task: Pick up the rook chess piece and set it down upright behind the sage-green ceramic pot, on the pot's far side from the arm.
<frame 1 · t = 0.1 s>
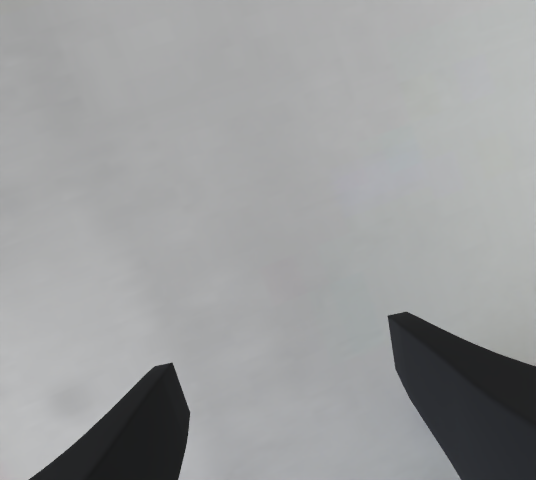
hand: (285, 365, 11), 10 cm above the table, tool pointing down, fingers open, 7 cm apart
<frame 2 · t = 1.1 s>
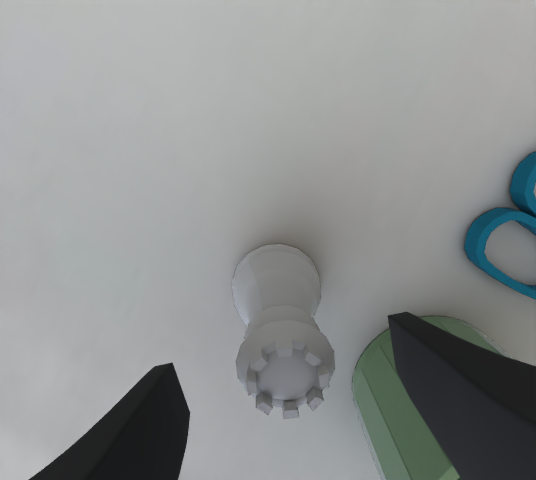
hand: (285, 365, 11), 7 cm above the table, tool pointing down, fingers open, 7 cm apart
planter: (424, 381, 20), on the table
rook chess piece: (275, 280, 19), on the table
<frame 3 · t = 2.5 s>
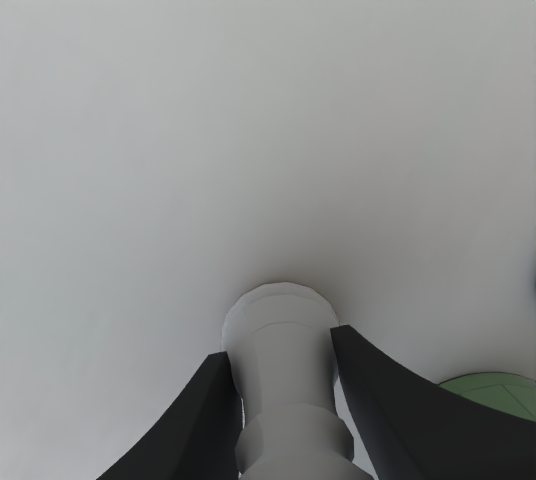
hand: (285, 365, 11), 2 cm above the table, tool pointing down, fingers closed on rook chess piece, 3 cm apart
planter: (473, 453, 16), on the table
rook chess piece: (280, 327, 14), on the table, touching gripper
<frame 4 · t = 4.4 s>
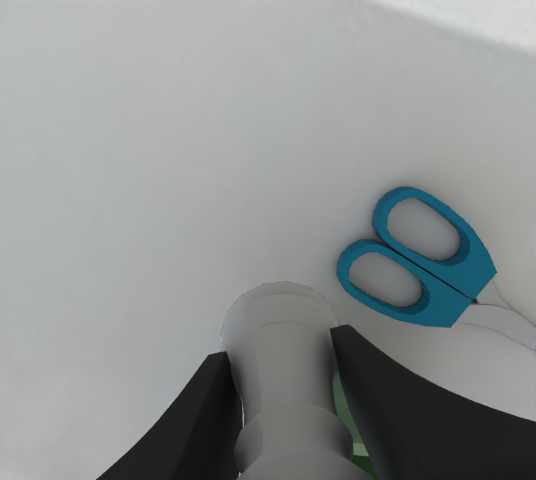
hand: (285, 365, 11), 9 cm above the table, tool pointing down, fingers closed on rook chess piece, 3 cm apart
planter: (313, 392, 22), on the table
rook chess piece: (279, 327, 14), point 7 cm above the table, touching gripper
scissors: (491, 311, 21), on the table
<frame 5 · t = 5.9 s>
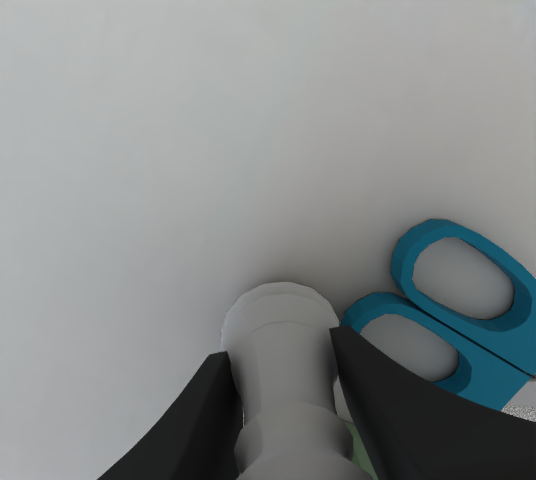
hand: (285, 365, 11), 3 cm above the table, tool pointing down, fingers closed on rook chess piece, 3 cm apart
rook chess piece: (279, 327, 14), on the table, touching gripper
when the fingers open (2 cm above the table, at t = 6.4 s): rook chess piece stays where it is, on the table.
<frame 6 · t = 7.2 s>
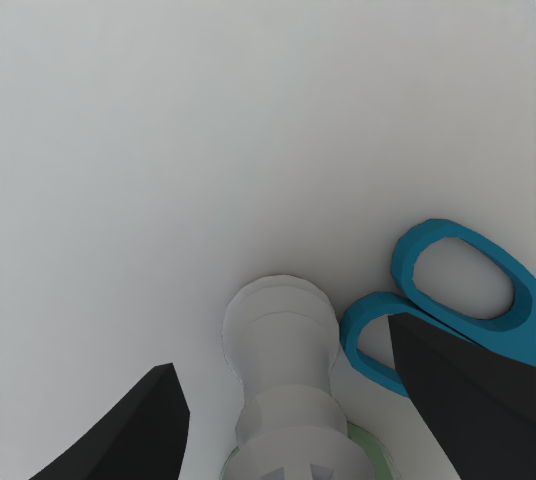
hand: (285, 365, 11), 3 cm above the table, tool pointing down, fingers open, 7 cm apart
rook chess piece: (278, 319, 14), on the table
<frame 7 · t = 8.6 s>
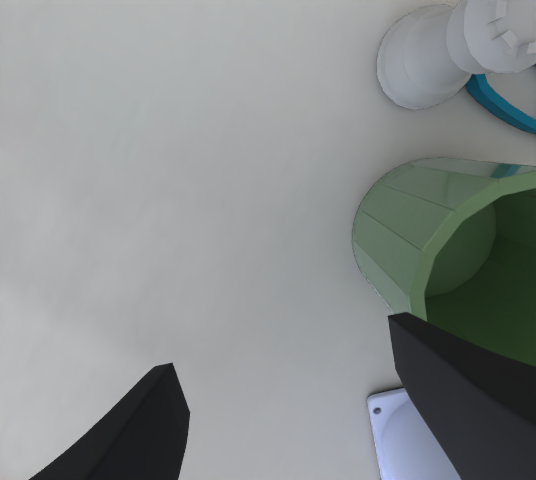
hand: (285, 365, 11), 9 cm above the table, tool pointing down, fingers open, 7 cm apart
planter: (424, 232, 20), on the table
rook chess piece: (415, 64, 18), on the table
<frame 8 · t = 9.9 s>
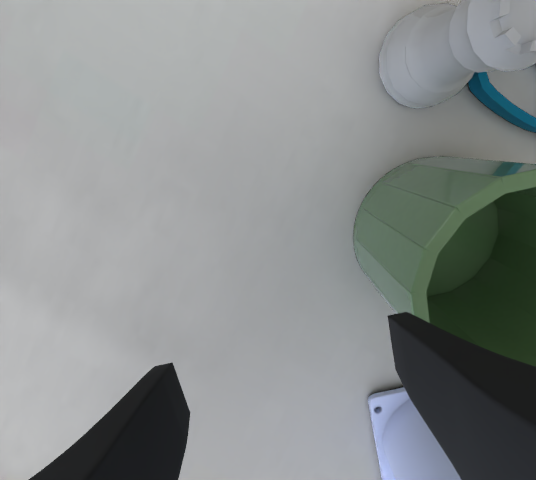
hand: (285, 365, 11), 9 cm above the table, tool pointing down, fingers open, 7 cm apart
planter: (425, 231, 20), on the table
rook chess piece: (417, 63, 18), on the table
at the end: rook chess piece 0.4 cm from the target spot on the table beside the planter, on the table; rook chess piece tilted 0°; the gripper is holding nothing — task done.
